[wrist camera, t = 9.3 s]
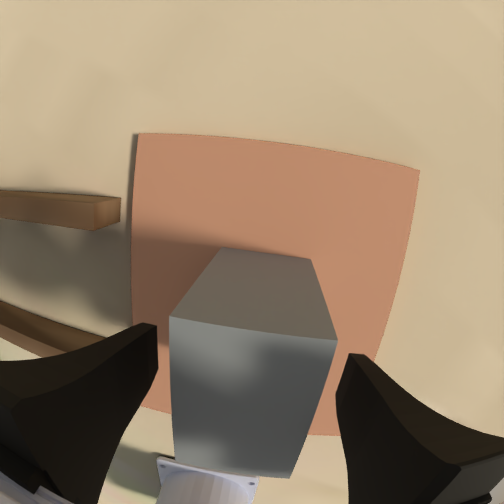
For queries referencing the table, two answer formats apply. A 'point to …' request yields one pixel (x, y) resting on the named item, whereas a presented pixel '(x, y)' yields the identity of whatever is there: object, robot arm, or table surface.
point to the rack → (60, 214)
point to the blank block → (248, 363)
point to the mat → (269, 234)
